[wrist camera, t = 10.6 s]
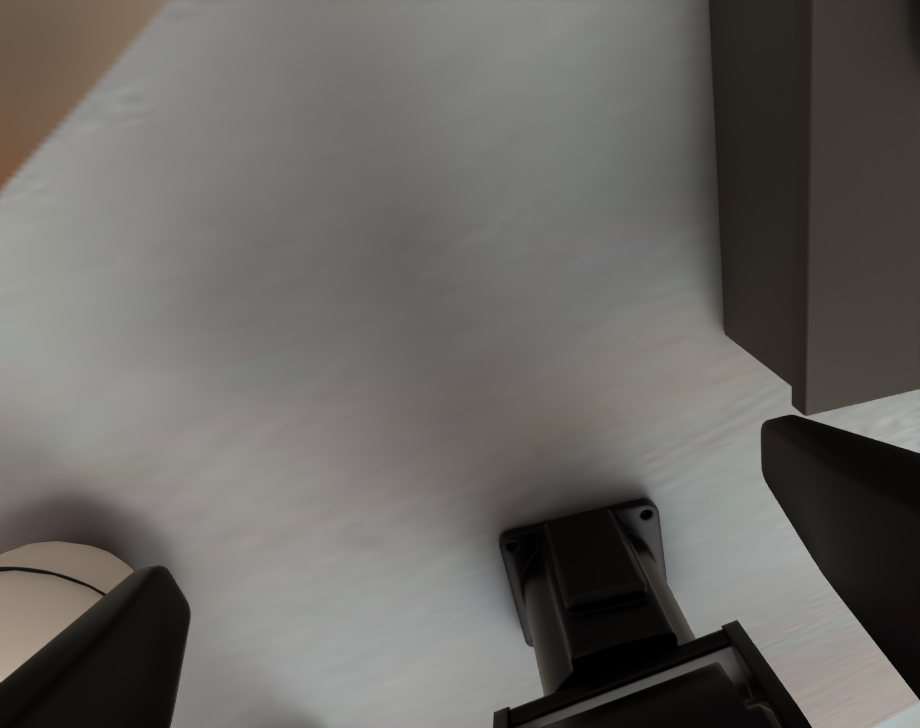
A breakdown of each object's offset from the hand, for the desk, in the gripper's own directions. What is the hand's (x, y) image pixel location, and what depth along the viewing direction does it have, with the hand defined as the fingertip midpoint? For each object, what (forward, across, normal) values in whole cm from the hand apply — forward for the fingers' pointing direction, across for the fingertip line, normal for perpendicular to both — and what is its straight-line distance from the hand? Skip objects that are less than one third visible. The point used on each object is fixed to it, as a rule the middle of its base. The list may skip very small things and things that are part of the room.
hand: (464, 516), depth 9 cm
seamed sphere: (+12, +17, +7) cm, 22 cm away
